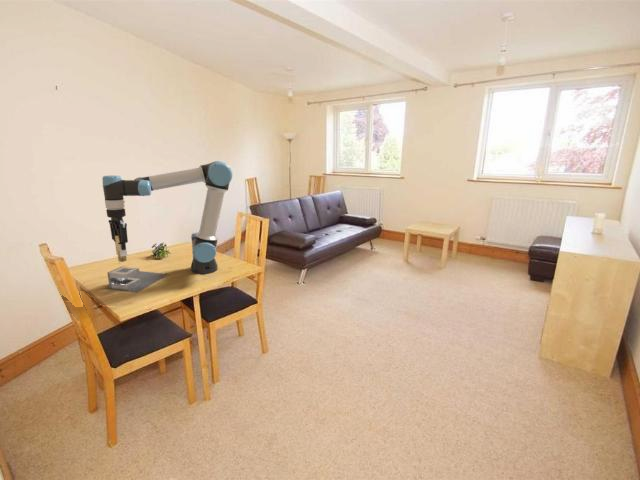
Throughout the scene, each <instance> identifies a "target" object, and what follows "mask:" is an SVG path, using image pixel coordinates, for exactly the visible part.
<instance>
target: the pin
mask: <svg viewBox="0 0 640 480" xmlns="http://www.w3.org/2000/svg"><path fill="white" fill-rule="evenodd" d="M115 240H116V247H117V254H118V255H117V254H116V255H117V260H118V262H119V263H122V262H126V261H127V256H122V257H121V256H120V249H119V244H118V243H120V242H119V237H118V235H115ZM116 247H115V248H116Z"/></svg>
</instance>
